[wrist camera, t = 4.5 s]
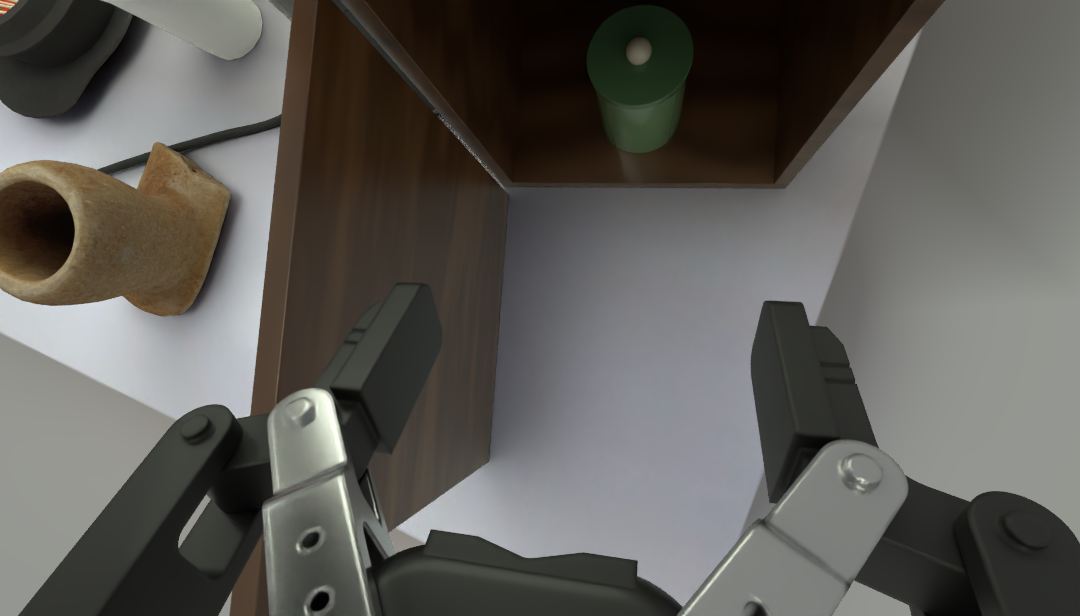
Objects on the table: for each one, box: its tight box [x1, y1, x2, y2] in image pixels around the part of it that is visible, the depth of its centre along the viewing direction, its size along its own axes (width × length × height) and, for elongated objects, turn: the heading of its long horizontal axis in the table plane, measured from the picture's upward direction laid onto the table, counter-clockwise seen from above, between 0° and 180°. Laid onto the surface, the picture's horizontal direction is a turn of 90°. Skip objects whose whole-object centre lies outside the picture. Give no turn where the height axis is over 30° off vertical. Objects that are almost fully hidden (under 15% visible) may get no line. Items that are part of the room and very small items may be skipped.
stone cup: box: [0, 142, 231, 316], centre depth 42 cm, size 15×12×15 cm
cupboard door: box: [230, 0, 509, 616], centre depth 31 cm, size 6×22×26 cm, turn 177°
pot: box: [586, 5, 694, 153], centre depth 36 cm, size 7×7×10 cm
